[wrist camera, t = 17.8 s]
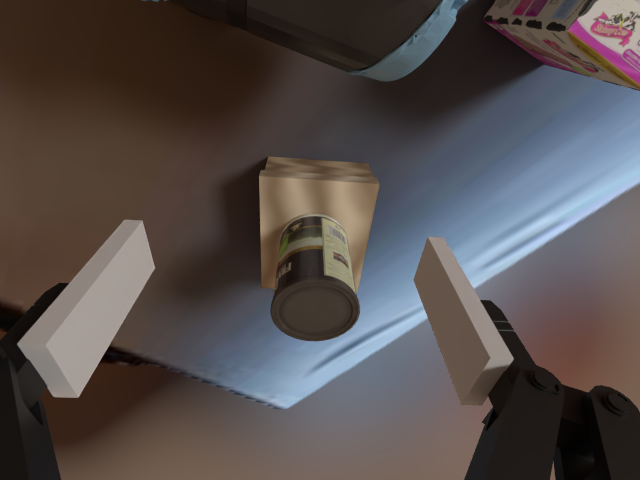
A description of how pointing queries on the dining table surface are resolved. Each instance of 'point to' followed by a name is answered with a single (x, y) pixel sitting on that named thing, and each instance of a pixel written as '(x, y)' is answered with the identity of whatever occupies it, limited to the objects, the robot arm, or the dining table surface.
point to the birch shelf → (315, 204)
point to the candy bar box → (576, 35)
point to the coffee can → (314, 280)
